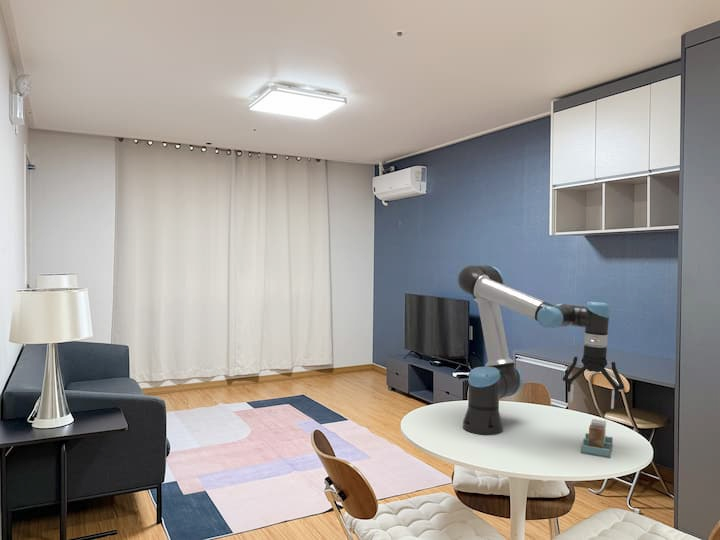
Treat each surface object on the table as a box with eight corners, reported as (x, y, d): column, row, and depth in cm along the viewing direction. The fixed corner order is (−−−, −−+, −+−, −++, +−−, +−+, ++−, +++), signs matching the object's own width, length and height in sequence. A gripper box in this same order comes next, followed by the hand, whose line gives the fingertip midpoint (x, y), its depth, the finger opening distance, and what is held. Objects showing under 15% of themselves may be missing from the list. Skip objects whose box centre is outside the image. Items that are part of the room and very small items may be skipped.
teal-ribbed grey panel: (580, 453, 188) (581, 445, 188) (585, 440, 202) (585, 433, 202) (609, 458, 183) (609, 450, 183) (612, 444, 198) (612, 437, 197)
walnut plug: (588, 450, 188) (589, 427, 188) (589, 447, 192) (590, 424, 192) (602, 453, 186) (603, 429, 186) (603, 449, 190) (604, 426, 190)
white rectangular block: (590, 444, 195) (591, 422, 195) (591, 441, 199) (592, 419, 199) (604, 446, 193) (604, 424, 193) (605, 443, 197) (605, 421, 197)
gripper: (557, 342, 197) (553, 400, 198) (634, 351, 186) (630, 413, 187) (560, 340, 204) (556, 396, 205) (634, 348, 193) (630, 408, 193)
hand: (591, 404), depth 196 cm, fingers open, 13 cm apart
